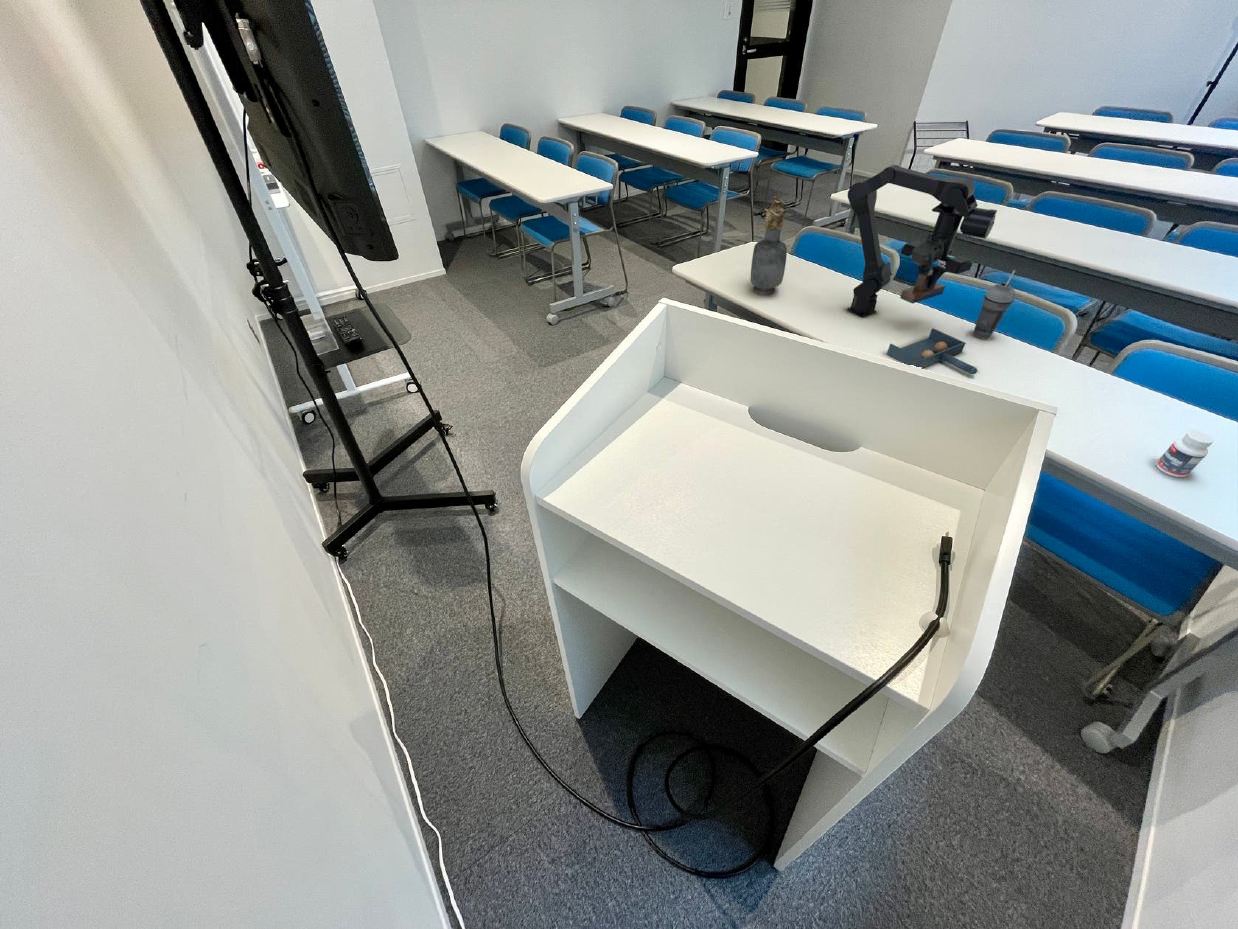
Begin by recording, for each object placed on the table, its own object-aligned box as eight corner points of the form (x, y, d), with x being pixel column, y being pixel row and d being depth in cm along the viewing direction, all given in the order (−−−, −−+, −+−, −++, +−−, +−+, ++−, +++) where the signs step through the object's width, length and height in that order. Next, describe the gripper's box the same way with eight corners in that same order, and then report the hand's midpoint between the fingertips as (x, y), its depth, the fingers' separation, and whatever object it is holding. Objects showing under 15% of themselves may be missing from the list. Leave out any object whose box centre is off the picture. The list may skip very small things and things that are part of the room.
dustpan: (886, 354, 150) (890, 343, 148) (929, 337, 156) (933, 327, 154) (951, 387, 137) (956, 377, 134) (995, 368, 143) (1000, 358, 141)
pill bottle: (1148, 462, 113) (1176, 429, 107) (1172, 460, 113) (1200, 427, 107) (1170, 478, 109) (1200, 445, 103) (1194, 476, 109) (1225, 443, 103)
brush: (899, 298, 156) (907, 274, 151) (929, 288, 160) (938, 265, 155) (912, 303, 153) (920, 280, 148) (942, 293, 157) (951, 270, 153)
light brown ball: (916, 355, 147) (924, 349, 144) (923, 352, 148) (932, 346, 145) (922, 365, 146) (931, 359, 143) (930, 362, 147) (939, 356, 144)
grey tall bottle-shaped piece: (748, 298, 181) (760, 204, 161) (748, 277, 195) (760, 188, 175) (780, 300, 179) (797, 205, 159) (778, 278, 193) (794, 188, 173)
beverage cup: (989, 329, 159) (1020, 263, 146) (999, 341, 153) (1033, 273, 140) (963, 329, 160) (992, 263, 146) (973, 341, 154) (1004, 273, 141)
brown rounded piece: (930, 352, 150) (932, 342, 148) (937, 350, 151) (940, 339, 150) (940, 355, 148) (943, 344, 146) (948, 352, 149) (950, 341, 147)
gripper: (896, 226, 148) (879, 281, 158) (956, 246, 135) (933, 304, 146) (923, 219, 151) (905, 273, 162) (984, 238, 139) (960, 295, 149)
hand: (924, 286), depth 154 cm, fingers closed on brush, 2 cm apart
